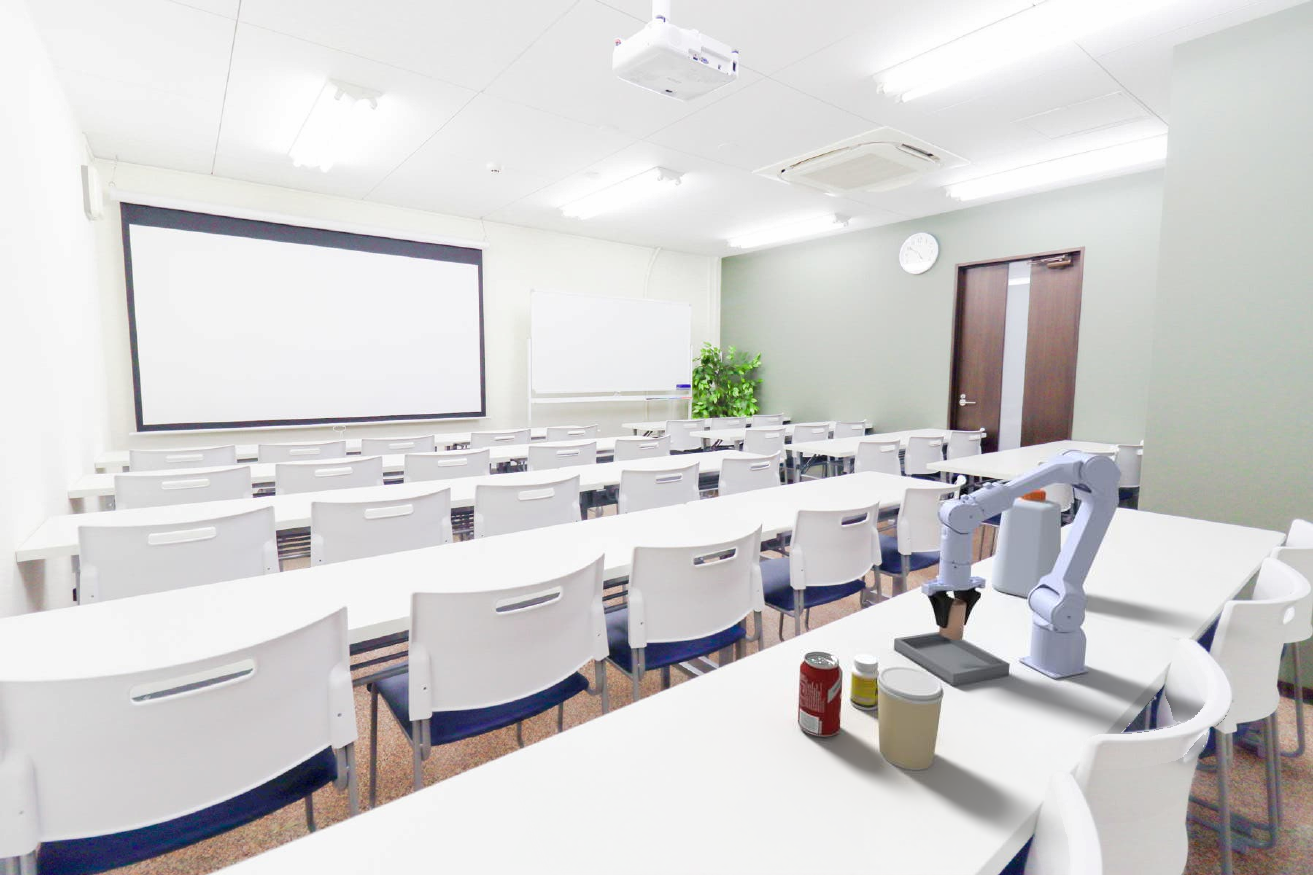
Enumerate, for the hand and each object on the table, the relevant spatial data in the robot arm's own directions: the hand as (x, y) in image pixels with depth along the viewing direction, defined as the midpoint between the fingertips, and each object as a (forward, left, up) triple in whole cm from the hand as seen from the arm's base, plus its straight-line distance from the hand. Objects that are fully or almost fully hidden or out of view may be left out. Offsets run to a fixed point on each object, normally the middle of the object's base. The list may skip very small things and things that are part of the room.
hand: (951, 624), depth 122 cm
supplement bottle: (+27, +8, -8) cm, 29 cm away
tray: (0, 0, -8) cm, 8 cm away
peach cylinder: (0, 0, -2) cm, 2 cm away
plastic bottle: (-53, -27, -8) cm, 60 cm away
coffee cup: (+30, +22, -8) cm, 38 cm away
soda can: (+39, +12, -8) cm, 42 cm away
